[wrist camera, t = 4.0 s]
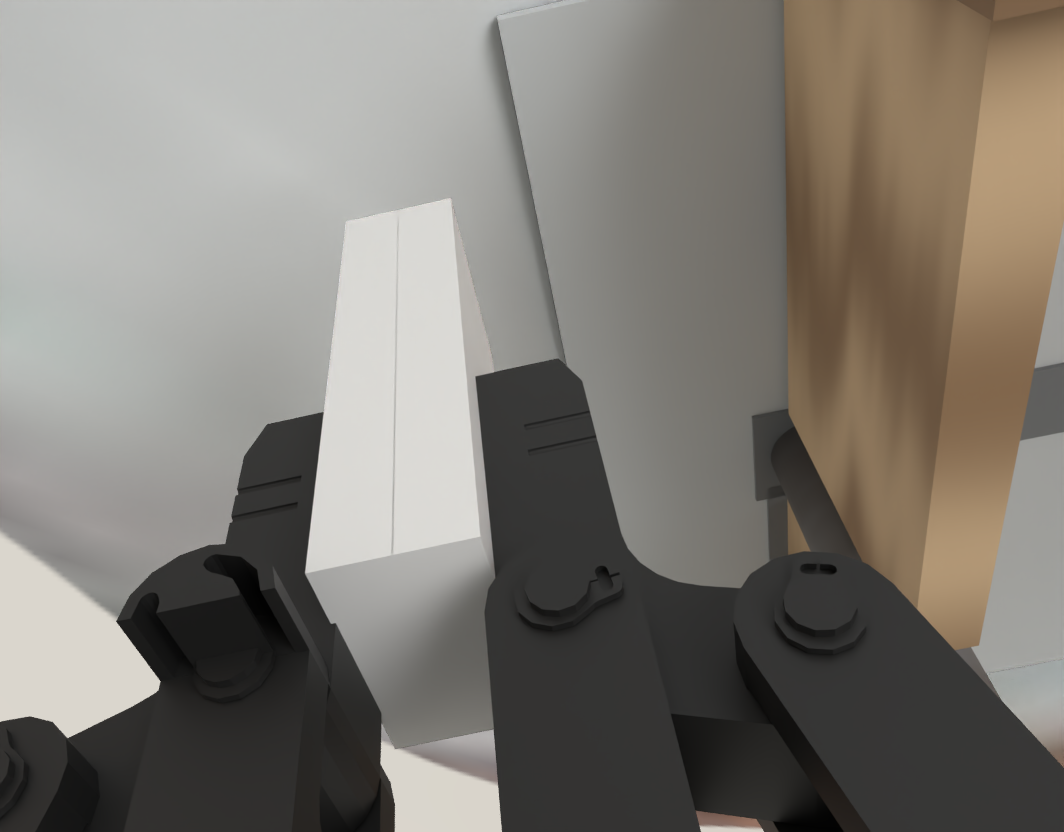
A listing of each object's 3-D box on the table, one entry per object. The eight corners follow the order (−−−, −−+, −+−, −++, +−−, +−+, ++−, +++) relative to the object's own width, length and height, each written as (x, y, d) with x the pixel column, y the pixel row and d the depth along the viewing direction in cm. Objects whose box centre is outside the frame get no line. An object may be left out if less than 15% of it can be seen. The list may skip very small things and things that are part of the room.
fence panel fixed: (768, 425, 22) (911, 733, 16) (850, 408, 22) (1029, 711, 16) (777, 726, 31) (873, 1009, 24) (837, 714, 31) (950, 996, 24)
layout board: (1610, -234, 15) (1636, -233, 15) (1219, 621, 30) (1227, 631, 29) (496, 15, 16) (498, 22, 16) (639, 729, 31) (642, 741, 30)
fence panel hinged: (851, 400, 22) (1012, 670, 16) (776, 416, 22) (907, 690, 16) (878, -214, 14) (1211, -140, 8) (761, -187, 14) (1007, -94, 8)
